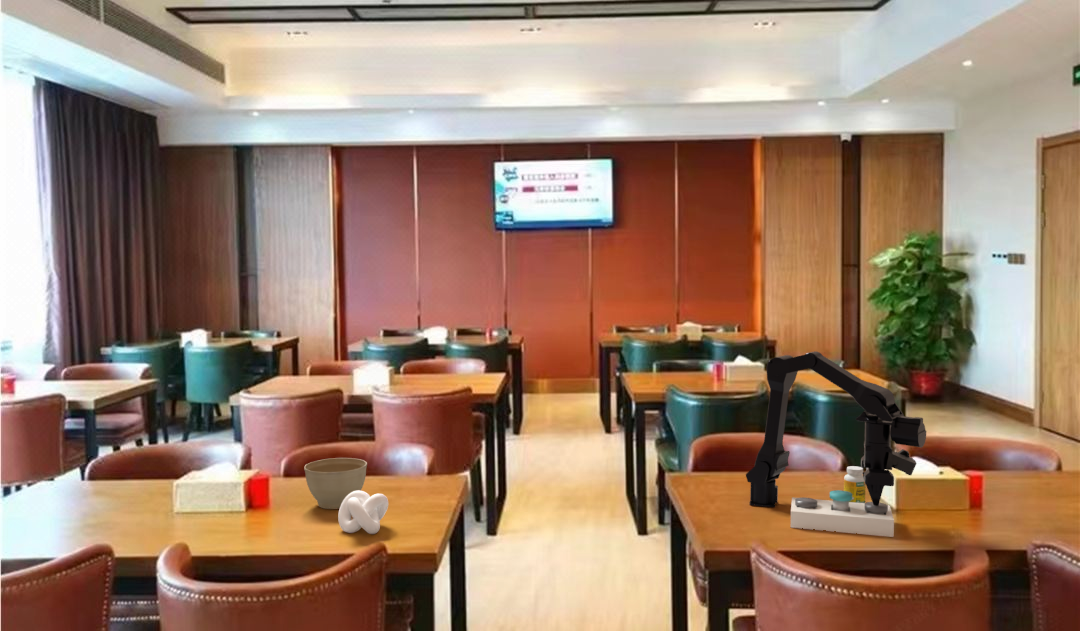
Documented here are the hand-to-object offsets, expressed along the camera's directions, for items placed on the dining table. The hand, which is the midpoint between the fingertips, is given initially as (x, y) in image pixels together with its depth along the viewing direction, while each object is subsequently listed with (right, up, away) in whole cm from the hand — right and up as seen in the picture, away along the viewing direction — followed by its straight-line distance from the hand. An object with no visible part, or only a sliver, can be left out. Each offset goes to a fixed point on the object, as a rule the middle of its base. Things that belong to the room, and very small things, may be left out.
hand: (875, 505), depth 200 cm
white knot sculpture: (-123, -7, 0) cm, 123 cm away
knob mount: (-8, -5, +3) cm, 10 cm away
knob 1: (-15, -4, +5) cm, 16 cm away
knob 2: (0, -4, 0) cm, 4 cm away
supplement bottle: (+2, -4, +20) cm, 20 cm away
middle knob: (-8, -1, +3) cm, 8 cm away
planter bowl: (-135, -5, +22) cm, 137 cm away
